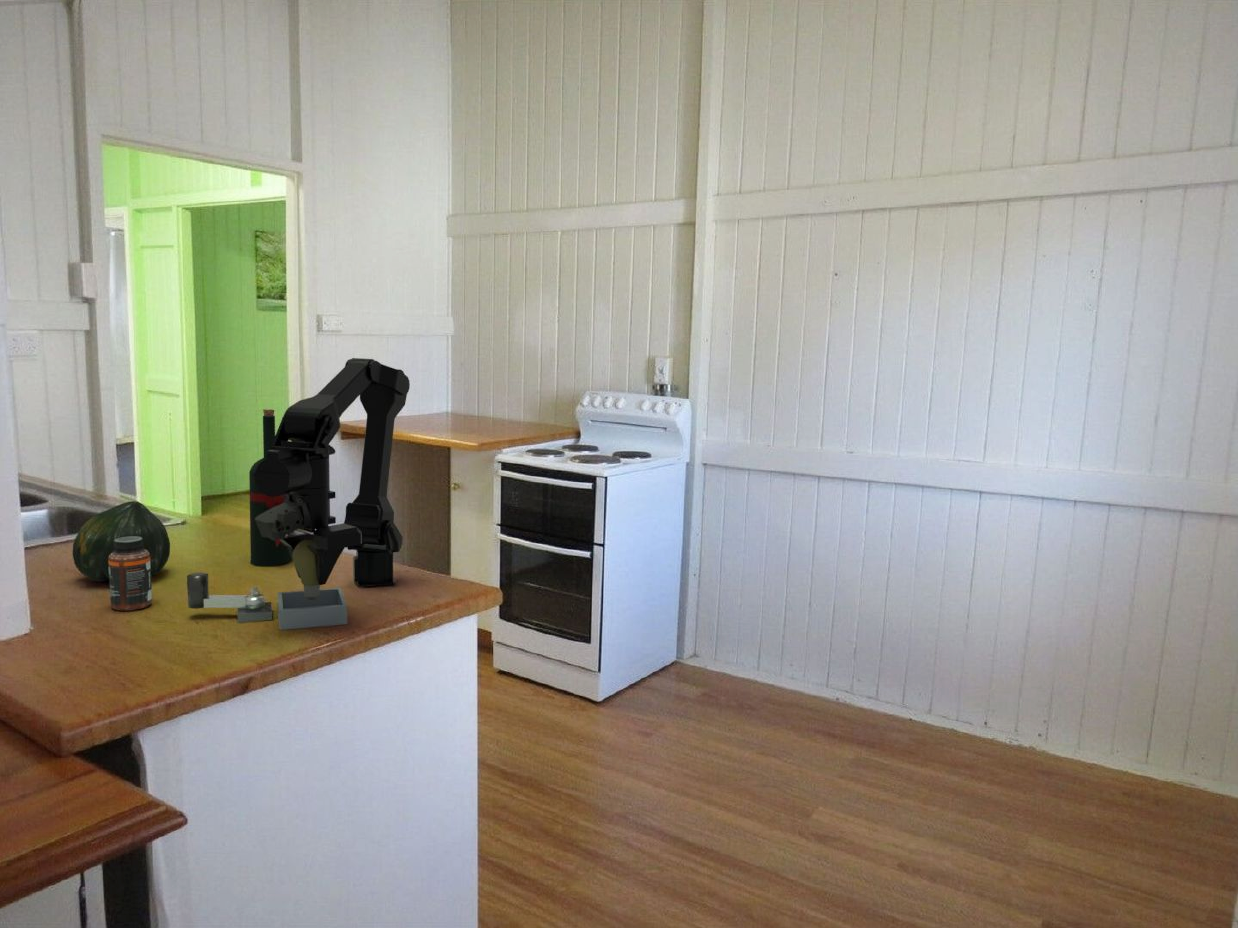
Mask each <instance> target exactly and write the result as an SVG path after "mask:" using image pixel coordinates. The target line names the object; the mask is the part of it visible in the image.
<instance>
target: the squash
mask: <svg viewBox="0 0 1238 928" xmlns="http://www.w3.org/2000/svg"><path fill="white" fill-rule="evenodd" d="M129 536H137V537H141V538H142V540H143V548H144V549H145V550H147V551H148V552H149V554H150V565H151V577H152V576H155V575H157V574H158V573H159V572H160V571H162V569H163V568H164V567H165V566H166V564H167V563H168V561H169V557H170V553H171V542H170V541H171V540H170V537H169V534H168V531H167V528H166V526H165V525H164V523H163V522H162V521H161V520H160V519H159V517H157V516H156V515H155V514H154V513H153V512H152V511H151V510H150V509H149V508H148V507H147V506H146V505H145V504H143V503H141V502H140V501H138V500H131V501H127V502H124V503H120V504H118V505H115V506H114V507H111V508H110V509H109V508H108V509H107V510H104V511H102V512H100V513H98V514H95V515H94V516H93V517H91V518H90V519H88V520H87V521H86V522H85V523H84V524H83V525H82V526H81V527H80V529H79V530H78V533H77V535H75V538H74V541H73V544H72V559H73V563H74V565H75V567H76V568H77V570H78V571H79V572H80V573H81V575H83V576H84V577H86V578H89V580H90V579H91V580H93V581H96V582H100V583H101V582H107V581H109V562H108V559H109V555H110V554H111V553H112V552H113V551H114V550H115V548H114V540H115V539H117V538H121V537H129Z"/></svg>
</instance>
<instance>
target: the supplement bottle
mask: <svg viewBox="0 0 1238 928" xmlns="http://www.w3.org/2000/svg"><path fill="white" fill-rule="evenodd" d="M114 548H115V550H114V551H113V552H112V553H111V554H110V555H109V559H108V562H109V580H108V581H109V597H110V598H109V600H110V608H112V609H114V611H115V610H116V611H126V612H127V611H128V612H129V611H135V610H142V609H143V608H148V607H149V606H150V605H151V604H152V601H153V593H152V592H153V591H152V589H153V588H152V587H153V586H152V576H151V565H150V554H149V552H148V551H147V550H145V549H144V548H143V540H142V538H141V537H137V536H129V537H121V538H117V539H115V540H114Z"/></svg>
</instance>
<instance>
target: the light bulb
mask: <svg viewBox="0 0 1238 928" xmlns="http://www.w3.org/2000/svg"><path fill="white" fill-rule="evenodd" d="M315 544H316V543H315V542H314V539H312V538H311V539H305V540H303V541H301V542H300V543H299V544H298V545H297V546H296V547H295V549H294V551H293V556H292V558H293V562H292V563H293V566H294V568H296V569H297V571H298V573H299V575H300V578H299V579H300V581H301V584H302V585H303V591H304V596H305V597H307V598H308V599H309V600H314V599H316V598H317V597H318V596H319V595H320V590H319V589H321V585H319V584H318V580H317V572H316V563H315V555H314V553H313V552H312V551H310V550H309V549H308V548H307V546H309V545H315ZM296 569H295V570H296ZM297 571H296V572H297Z"/></svg>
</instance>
